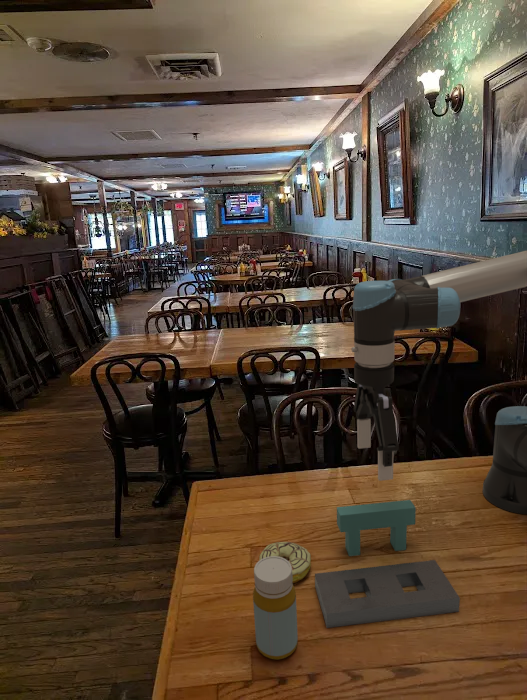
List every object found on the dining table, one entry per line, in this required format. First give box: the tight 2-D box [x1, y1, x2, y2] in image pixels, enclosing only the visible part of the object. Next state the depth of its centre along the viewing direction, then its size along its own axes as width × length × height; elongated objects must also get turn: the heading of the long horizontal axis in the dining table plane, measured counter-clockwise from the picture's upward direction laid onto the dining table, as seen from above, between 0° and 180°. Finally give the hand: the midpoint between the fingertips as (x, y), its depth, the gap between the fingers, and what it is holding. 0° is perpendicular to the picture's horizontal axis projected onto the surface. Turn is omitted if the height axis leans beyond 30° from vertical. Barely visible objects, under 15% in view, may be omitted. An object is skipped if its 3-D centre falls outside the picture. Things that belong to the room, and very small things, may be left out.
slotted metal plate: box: [314, 559, 461, 629], centre depth 90 cm, size 24×10×3 cm, turn 96°
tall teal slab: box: [336, 499, 416, 557], centre depth 103 cm, size 16×3×10 cm, turn 96°
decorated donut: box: [258, 541, 312, 585], centre depth 99 cm, size 10×11×4 cm
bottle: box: [252, 556, 299, 661], centre depth 80 cm, size 7×7×15 cm
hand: (374, 462), depth 99 cm, fingers open, 13 cm apart
